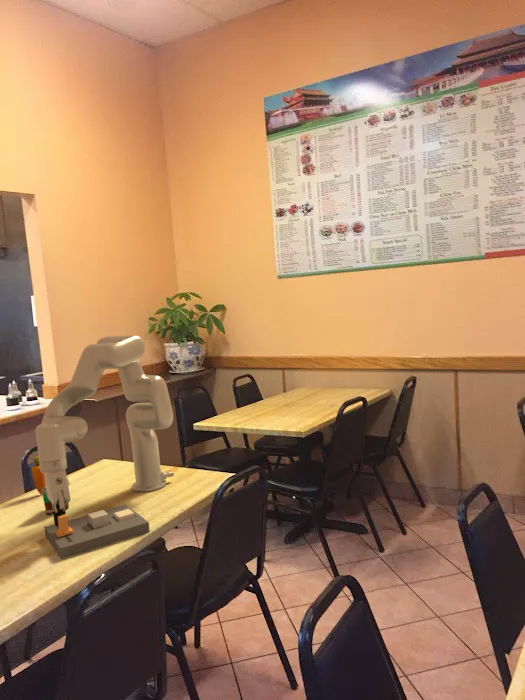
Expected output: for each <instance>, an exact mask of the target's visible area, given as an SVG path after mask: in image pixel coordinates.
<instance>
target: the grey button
mask: <svg viewBox="0 0 525 700" xmlns="http://www.w3.org/2000/svg"><path fill="white" fill-rule="evenodd" d="M104 510H105V509H101V510H97V511H95V512H89V513H87V515H88V519H89V527H90V528H91V529H96V528H99V527H102V526H106V525H109V516H108V513H106V512H105V511H104Z"/></svg>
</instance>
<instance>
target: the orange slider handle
mask: <svg viewBox="0 0 525 700" xmlns="http://www.w3.org/2000/svg"><path fill="white" fill-rule="evenodd" d="M57 518H58V526H59V530H56V531H55V534H56V535H57V536H58V537H61V536H65V535H68V534H72V533H74V532H73V529H72V528H71V527H69V525H68V520H69V518H68V515H67V513H66V514H64V515H61V516H57Z"/></svg>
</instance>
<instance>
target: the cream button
mask: <svg viewBox="0 0 525 700" xmlns="http://www.w3.org/2000/svg"><path fill="white" fill-rule="evenodd" d="M114 516H115V519H116V520H117V521H118V522H120V521H123V520H127V519H130V518H133V517H135V516H134V512H132V511H131V510H130V509H126V510H123V511H119V512H115V513H114Z"/></svg>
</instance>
